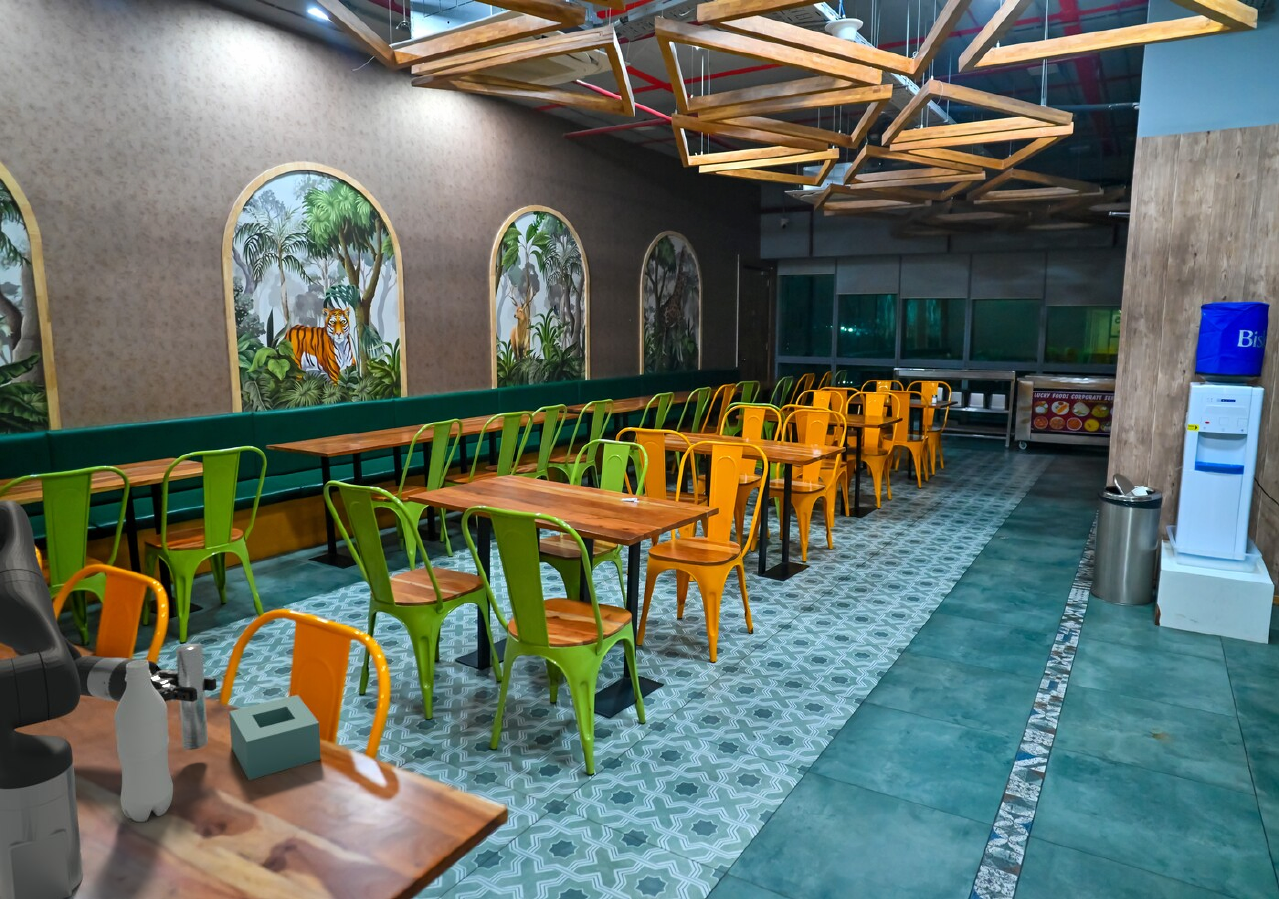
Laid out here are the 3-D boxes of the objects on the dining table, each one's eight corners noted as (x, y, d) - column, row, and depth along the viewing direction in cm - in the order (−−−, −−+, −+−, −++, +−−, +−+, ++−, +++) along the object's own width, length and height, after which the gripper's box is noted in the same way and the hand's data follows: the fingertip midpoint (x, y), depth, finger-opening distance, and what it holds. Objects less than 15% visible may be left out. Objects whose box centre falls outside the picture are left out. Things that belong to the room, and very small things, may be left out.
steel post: (209, 745, 147) (204, 648, 144) (184, 752, 144) (178, 653, 142) (205, 736, 150) (199, 642, 148) (180, 743, 148) (174, 646, 145)
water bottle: (112, 817, 130) (99, 667, 126) (156, 795, 136) (146, 651, 133) (139, 830, 127) (127, 676, 123) (184, 807, 133) (173, 660, 129)
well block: (320, 759, 148) (319, 722, 147) (248, 780, 141) (246, 741, 140) (299, 729, 159) (297, 694, 158) (231, 747, 152) (229, 711, 151)
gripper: (88, 675, 142) (173, 685, 138) (154, 646, 155) (232, 654, 152) (91, 716, 143) (175, 728, 139) (156, 684, 156) (234, 693, 153)
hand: (205, 689), depth 145 cm, fingers closed on steel post, 4 cm apart
